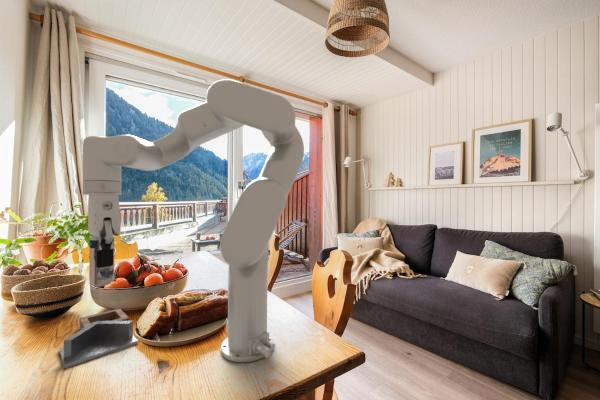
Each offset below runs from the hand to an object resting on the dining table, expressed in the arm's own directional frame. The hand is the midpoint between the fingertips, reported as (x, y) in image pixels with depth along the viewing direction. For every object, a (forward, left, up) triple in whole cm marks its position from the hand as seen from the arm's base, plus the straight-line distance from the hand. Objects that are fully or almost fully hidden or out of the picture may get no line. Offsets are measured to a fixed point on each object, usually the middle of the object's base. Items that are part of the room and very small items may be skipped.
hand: (102, 263), depth 65 cm
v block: (+2, 0, -21) cm, 21 cm away
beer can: (0, 0, -5) cm, 5 cm away
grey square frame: (+13, -3, -21) cm, 25 cm away
